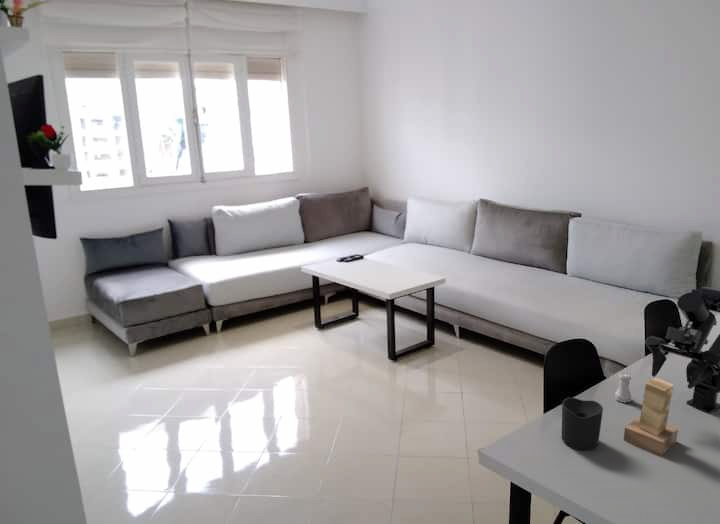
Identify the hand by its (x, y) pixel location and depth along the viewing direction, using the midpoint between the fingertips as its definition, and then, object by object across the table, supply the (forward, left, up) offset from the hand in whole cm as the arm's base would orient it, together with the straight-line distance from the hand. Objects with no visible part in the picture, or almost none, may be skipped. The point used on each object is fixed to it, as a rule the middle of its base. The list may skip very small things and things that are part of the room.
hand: (670, 381), depth 139 cm
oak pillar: (+8, +1, -10) cm, 13 cm away
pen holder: (+23, -8, -14) cm, 28 cm away
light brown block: (+8, +1, -14) cm, 16 cm away
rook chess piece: (-5, -16, -14) cm, 21 cm away
